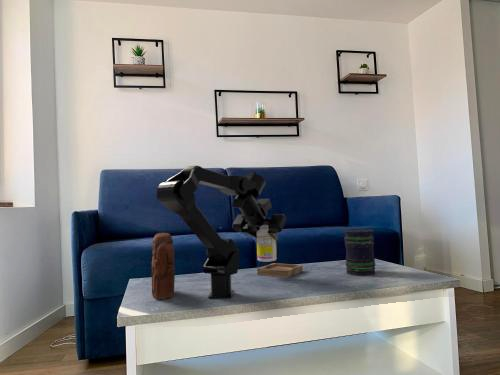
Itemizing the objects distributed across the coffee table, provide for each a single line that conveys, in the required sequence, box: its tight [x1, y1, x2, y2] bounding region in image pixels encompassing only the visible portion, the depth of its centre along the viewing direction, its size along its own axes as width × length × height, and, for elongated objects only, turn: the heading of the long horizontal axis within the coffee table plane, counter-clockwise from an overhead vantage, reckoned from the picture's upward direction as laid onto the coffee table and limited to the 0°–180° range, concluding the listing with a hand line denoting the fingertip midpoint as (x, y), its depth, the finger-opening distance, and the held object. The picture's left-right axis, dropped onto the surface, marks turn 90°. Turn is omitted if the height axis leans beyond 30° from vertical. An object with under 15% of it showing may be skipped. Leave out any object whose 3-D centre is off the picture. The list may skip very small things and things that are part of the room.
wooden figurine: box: [151, 232, 176, 300], centre depth 101 cm, size 12×6×18 cm, turn 19°
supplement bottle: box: [256, 225, 278, 263], centre depth 118 cm, size 7×7×13 cm
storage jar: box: [344, 228, 376, 277], centre depth 120 cm, size 10×10×15 cm
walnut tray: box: [256, 262, 303, 279], centre depth 125 cm, size 12×12×2 cm
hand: (268, 238), depth 119 cm, fingers closed on supplement bottle, 7 cm apart
